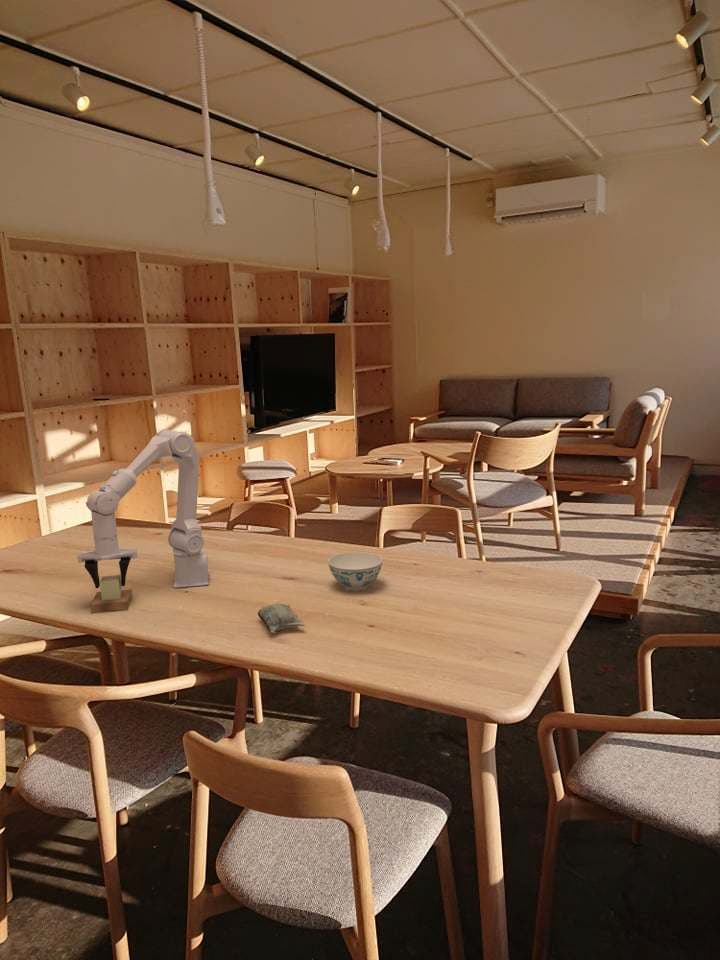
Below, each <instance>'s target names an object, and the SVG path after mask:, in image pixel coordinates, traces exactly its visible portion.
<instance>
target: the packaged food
mask: <svg viewBox="0 0 720 960" xmlns="http://www.w3.org/2000/svg"><path fill="white" fill-rule="evenodd" d="M257 615H258V617H259V618H260V620H261V622H263V624H264V625H265V626H266V628H267V630H268V632H269V633H272V634H274V633H280V632H284V631H289V630H293V629H296V628H298V627H305V623H304V620H303V619H302V618H301V619H300V618H299V616H298V614H296V613H295V612H294V611H293V609H291V604H284V603H279V602H275V603H273V604H269V605H267V606H263V607H262V608H260V609H259V610H258V611H257Z"/></svg>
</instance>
